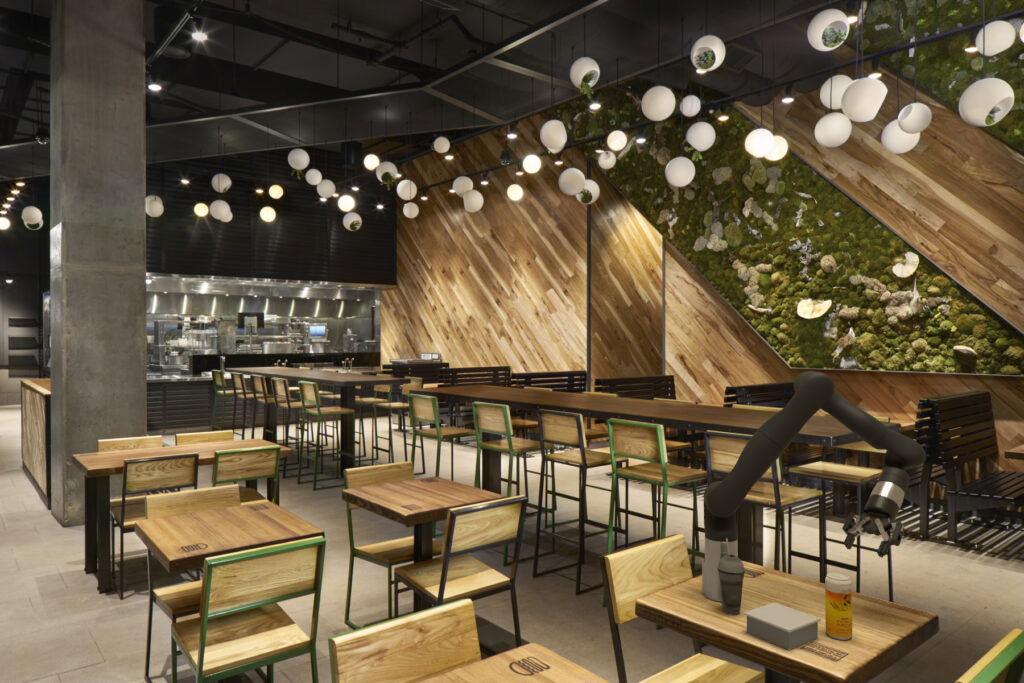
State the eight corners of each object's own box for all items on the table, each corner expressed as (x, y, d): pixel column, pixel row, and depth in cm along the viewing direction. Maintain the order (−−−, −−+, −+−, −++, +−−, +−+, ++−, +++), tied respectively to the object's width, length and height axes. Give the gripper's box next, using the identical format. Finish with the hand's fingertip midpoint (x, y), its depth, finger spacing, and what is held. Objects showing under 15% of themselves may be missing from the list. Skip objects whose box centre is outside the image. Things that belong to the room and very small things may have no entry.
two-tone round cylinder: (840, 642, 162) (840, 581, 162) (820, 633, 168) (819, 574, 168) (857, 638, 164) (857, 578, 165) (837, 629, 170) (836, 571, 170)
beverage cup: (738, 619, 176) (738, 544, 177) (712, 612, 181) (712, 539, 182) (749, 611, 182) (749, 539, 182) (724, 604, 186) (724, 534, 187)
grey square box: (743, 632, 168) (743, 612, 168) (774, 621, 175) (774, 602, 175) (789, 651, 157) (789, 630, 157) (820, 638, 164) (820, 618, 164)
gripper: (853, 489, 184) (831, 537, 177) (907, 498, 172) (885, 549, 165) (864, 506, 187) (842, 553, 180) (917, 515, 175) (896, 566, 168)
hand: (863, 551), depth 173 cm, fingers open, 8 cm apart
